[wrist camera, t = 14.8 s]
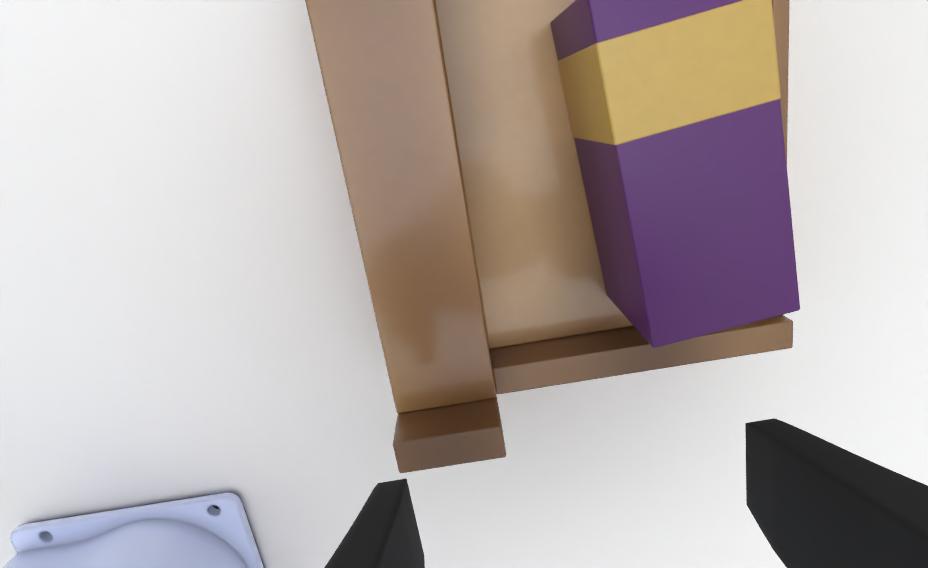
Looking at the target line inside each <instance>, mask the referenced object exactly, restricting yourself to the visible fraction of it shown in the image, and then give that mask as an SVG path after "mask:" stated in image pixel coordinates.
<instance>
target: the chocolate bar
mask: <svg viewBox="0 0 928 568" xmlns="http://www.w3.org/2000/svg"><path fill="white" fill-rule="evenodd" d="M550 25H551V29H552V34H553V39H554V44H555V49H556V53H557V58H558V66H559V71H560V76H561V81H562V85H563V90H564V95H565V100H566V105H567V109H568V114H569V119H570V124H571V129H572V133H573V137H574V140H575V145H576V150H577V154H578V159H579V164H580V169H581V174H582V178H583V183H584V188H585V193H586V198H587V202H588V207H589V212H590V217H591V222H592V226H593V231H594V236H595V241H596V246H597V250H598V255H599V260H600V265H601V270H602V275H603V279H604V284H605V289H606V294H607V296H608V297H609V298H610V299H611V301H612V302H613V303H614V304H615V305H616V306H617V307H618V308H619V310H620V311H621V312H622V313H623V314H624V315H625V316H626V318H627V319H628V320H629V321H630V322H631V323H632V324H633V325H634V327H635V328H636V329H637V330H638V331H639V332H640V333H641V335H642V336H643V337H644V338H645V339H646V340H647V341H648V342H649V344H650V345H651V346H652V347H653V348H657V347H661V346H664V345H668V344H672V343H676V342H680V341H683V340H687V339H691V338H695V337H699V336H702V335H706V334H710V333H714V332H718V331H722V330H725V329H729V328H733V327H737V326H741V325H744V324H748V323H752V322H756V321H760V320H763V319H767V318H771V317H775V316H779V315H782V314H786V313H790V312H794V311H798V310H800V304H799V294H798V283H797V272H796V262H795V251H794V241H793V230H792V219H791V209H790V198H789V188H788V177H787V167H786V156H785V145H784V135H783V124H782V114H781V103H780V98H781V93H780V82H779V72H778V61H777V51H776V40H775V29H774V19H773V8H772V0H575V1H574V2H573V3H572V4H571V5H570V6H568V7H567V8H566V9H565V10H564V11H563V12H562V13H560V14H559V15H558V16H557V17H556V18H555V19H554V20H552V21H551V23H550Z"/></svg>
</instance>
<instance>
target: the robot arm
mask: <svg viewBox="0 0 928 568" xmlns="http://www.w3.org/2000/svg"><path fill="white" fill-rule="evenodd" d="M746 490H747V506H748V508H749V509H750V511H751V513H752V515H753V516H754V518H755V520H756V522H757V523H758V525H759V527H760V528H761V530H762V532H763V533H764V535H765V537H766V538H767V540H768V542H769V543H770V545H771V546H772V548H773V550H774V551H775V552H776V554H777V555H778V556H779V558H780V559H781V561H782V562H783V563H784V564H785V566H786V567H787V568H928V486H927V485H925V484H922V483H920V482H917V481H915V480H912V479H910V478H908V477H905V476H903V475H901V474H898V473H896V472H894V471H891V470H889V469H887V468H884V467H882V466H880V465H878V464H875V463H873V462H871V461H869V460H866V459H864V458H862V457H860V456H858V455H855V454H853V453H851V452H849V451H847V450H845V449H842V448H840V447H838V446H836V445H834V444H832V443H829V442H827V441H825V440H823V439H821V438H819V437H816V436H814V435H812V434H810V433H808V432H806V431H803V430H801V429H799V428H797V427H794V426H792V425H790V424H787V423H785V422H782V421H780V420H777V419H769V420H763V421H756V422H750V423H746ZM212 505H216V506H218V507H219V508H220V509H215V508H214V507H213V506H212ZM48 532H49V533H51V534H49V533H48ZM10 539H11V542H12V544H13V546H14V548H15V550H16V552H17V554H16V555H15V556H14V557H13V558H12V559H11V560H10V561H9V562H8V563H7V564H6V565H5V566H4V567H3V568H264V567H263V564H262V561H261V558H260V555H259V552H258V549H257V546H256V543H255V540H254V537H253V534H252V531H251V528H250V525H249V522H248V520H247V517H246V514H245V511H244V508H243V505H242V502H241V500H240V498H239V497H238V496H237V495H235V494H233V493H221V494H215V495H208V496H202V497H195V498H189V499H183V500H176V501H170V502H163V503H157V504H151V505H144V506H138V507H131V508H125V509H119V510H112V511H106V512H99V513H93V514H87V515H80V516H74V517H67V518H61V519H54V520H48V521H42V522H35V523H29V524H23V525H20V526H19V527H18V528H17V529H16V530H15V531H13V532H12V533H11V536H10ZM325 568H425V566H424V553H423V549H422V544H421V540H420V536H419V531H418V527H417V523H416V518H415V514H414V510H413V505H412V501H411V497H410V492H409V488H408V484H407V479H401V480H395V481H389V482H383V483H378V484H377V485H376V487H375V488H374V489H373V491H372V493H371V494H370V496H369V498H368V500H367V501H366V503H365V505H364V506H363V508H362V510H361V511H360V513H359V515H358V516H357V518H356V520H355V521H354V523H353V525H352V526H351V528H350V530H349V531H348V533H347V534H346V536H345V537H344V539H343V540H342V542H341V543H340V545H339V547H338V548H337V550H336V551H335V553H334V554H333V556H332V557H331V559H330V560H329V562H328V563H327V565H326V566H325Z"/></svg>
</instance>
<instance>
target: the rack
mask: <svg viewBox="0 0 928 568" xmlns="http://www.w3.org/2000/svg"><path fill="white" fill-rule="evenodd" d="M574 1H575V0H305V2H306V6H307V11H308V15H309V20H310V24H311V29H312V33H313V38H314V42H315V47H316V51H317V56H318V60H319V65H320V69H321V74H322V78H323V83H324V87H325V92H326V96H327V101H328V105H329V109H330V114H331V118H332V123H333V127H334V132H335V136H336V141H337V145H338V150H339V154H340V159H341V163H342V168H343V172H344V177H345V181H346V186H347V190H348V195H349V199H350V204H351V208H352V213H353V217H354V222H355V226H356V231H357V235H358V240H359V244H360V249H361V253H362V258H363V262H364V267H365V271H366V276H367V280H368V285H369V289H370V294H371V298H372V303H373V307H374V312H375V316H376V321H377V325H378V330H379V334H380V339H381V343H382V348H383V352H384V357H385V361H386V366H387V370H388V375H389V379H390V384H391V388H392V393H393V397H394V402H395V406H396V411H397V413H398V416H397V422H396V428H395V434H394V440H393V447H394V452H395V456H396V460H397V465H398V469H399V472H400V473H406V472H412V471H418V470H425V469H431V468H438V467H444V466H450V465H457V464H463V463H470V462H476V461H483V460H489V459H495V458H502V457H505V456H506V449H505V443H504V437H503V430H502V424H501V419H500V413H499V407H498V402H497V396H496V394H503V393H509V392H515V391H522V390H528V389H534V388H541V387H547V386H553V385H560V384H566V383H572V382H579V381H585V380H591V379H598V378H604V377H610V376H617V375H623V374H629V373H636V372H642V371H648V370H655V369H661V368H667V367H674V366H680V365H686V364H693V363H699V362H705V361H712V360H718V359H724V358H731V357H737V356H743V355H750V354H756V353H762V352H769V351H775V350H781V349H788V348H792V343H793V321H792V320H790V319H788V318H787V317H785V316H783V315H784V314H782V315H779V316H775V317H771V318H767V319H763V320H760V321H756V322H752V323H748V324H744V325H741V326H737V327H733V328H729V329H725V330H722V331H718V332H714V333H710V334H706V335H702V336H699V337H695V338H691V339H687V340H683V341H680V342H676V343H672V344H668V345H664V346H661V347H657V348H653V347H652V346H651V345H650V344H649V342H648V341H647V340H646V339H645V338H644V337H643V336H642V335H641V333H640V332H639V331H638V330H637V329H636V328H635V327H634V325H633V324H632V323H631V322H630V321H629V320H628V319H627V318H626V316H625V315H624V314H623V313H622V312H621V311H620V310H619V308H618V307H617V306H616V305H615V304H614V303H613V302H612V301H611V299H610V298H609V297H608V296H607V294H606V289H605V284H604V279H603V275H602V270H601V265H600V260H599V255H598V250H597V246H596V241H595V236H594V231H593V226H592V222H591V217H590V212H589V207H588V202H587V198H586V193H585V188H584V183H583V178H582V174H581V169H580V164H579V159H578V154H577V150H576V145H575V140H574V137H573V133H572V129H571V124H570V119H569V114H568V109H567V105H566V100H565V95H564V90H563V85H562V81H561V76H560V71H559V66H558V58H557V53H556V49H555V44H554V39H553V34H552V29H551V25H550V23H551V21H552V20H554V19H555V18H556V17H557V16H558V15H559V14H560V13H562V12H563V11H564V10H565V9H566V8H567V7H568V6H570V5H571V4H572V3H573V2H574ZM772 8H773V19H774V29H775V40H776V51H777V61H778V72H779V82H780V93H781V98H780V103H781V114H782V124H783V135H784V145H785V156H786V167H787V109H788V48H789V0H772Z"/></svg>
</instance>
